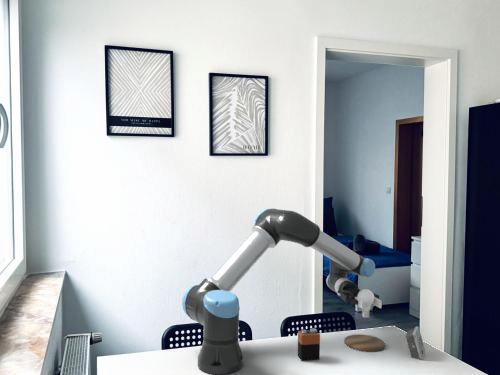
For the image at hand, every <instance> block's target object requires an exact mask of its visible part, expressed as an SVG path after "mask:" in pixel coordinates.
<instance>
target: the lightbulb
mask: <svg viewBox="0 0 500 375" xmlns="http://www.w3.org/2000/svg"><path fill="white" fill-rule="evenodd" d="M360 290H361V291H359V293H358V295H357V297H358V298H359V299H361V300H362V301H364V309H361V317H362V318H363V319H368V318H370V311H371V308H372V305H374V304H373V302H374V299H375V297H374V294H373V293H374V292H373V291H372V290H370V289H368V288H363V289H360Z"/></svg>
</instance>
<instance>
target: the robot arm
mask: <svg viewBox="0 0 500 375" xmlns="http://www.w3.org/2000/svg"><path fill="white" fill-rule="evenodd" d="M251 232H252V233H251V234H250V235H249V236H248V237H247V238H246V240H244V242H242V244H241V245H240V246H239V247H238V248H237V249H236V250H235V252H233V254H232V255H231V256H230V257H229V258H228V259H227V260H226V261H225V262H224V263H223V264H222V266H221V267H219V269H218V270H217V271H216V272H215V273H214V274H213V275H212V276H211V277H205V278H204V279H203V280H202V281H201V282H200V283H199V284H195V285H191V286H190V287H189V288H187V289H186V291H185V293H184V294H183V297H182V300H181V301H182V302H181V303H182V304H181V306H182V310H183V312H184V313H185V314H186V315H187V316H188V317H189V318H190V320H193V321H195V322H197V323H198V324H200V325H202V326H203V332H202V333H203V338H202V339H203V341H202V345H201V347H200V352H199V354H198V356H197V367H198V369H199V370H201V371H202V372H204V373H207V374H211V375H229V374H233V373H236V372H238V371H240V370H241V369H243V367H244V355H243V353H242V349H241V348H242V347H241V345H240V341H239V335H240V334H239V330H240V326H239V324H240V300H239V297H238V296H237V295H236V294H235V293H233V292H232V290H233V289H234V288H235V287H236V286H237V284H239V282H240V281H241V280H242V279H243V277H244V276H246V274H248V272H249V271H250V270H251V269H252V268H253V266H254V265H255V264H256V263H257V262H258V261H259V259H260V258H261V257H262V256H263V254H265V253H266V252H267V251H268V249H272V248H273V249H274V248H275V247H276V246H277V245H278V244H279V242H281V241H287V242H292V243H296V244H299V245H302V246H303V247H304V248H312V249H314V250H315V251H316V252H318V253H320V254H322V255H323V256H325V257H326V258H328V259H329V274H328V276H327V277H326V279H325V281H326V285H327V287H328V288H329V289H330V290H331V291H333V292H335V293H336V294H337V298H340V299H341V300H343V302H344V303H346V304H349V303H350V305H351V306H355V305H356V306H357V307H358V308H360V309H361V310H362V309H364V301H362V300H361V299H359V298H358V297H357V295H358V293H359V291H361V290H362V289H360V288H359V287H358V285H357V284H356V283H355V282H353V281H351V280H349V279H348V273H349V274H354V275H356V276H359V277H360V276H361V277H362V278H363V277H365V278H369V277H372V276H373V275H374V273H375V270H376V264H375V262H374V260H372V259H371V258H368V257H363V256H362V255H360V254H358V253H356V252H355V251H354V250H351V249H350V248H349V247H347V246H346V245H344V244H343V243H341V242H339V241H338V240H336V239H334V238H333V237H331V236H330V235H329V234H327V233H325V232H324V231H323V230H321V228H320V226H319V225H318V224H316V223H315V222H313V221H311V220H310V219H308V218H307V217H305V215H302V214H300V213H299V212H297V211H294V210H287V209H286V210H285V209H277V208H266V209H263V210H261V211H260V212H259V213H257V215H256V217H255V218H254V225H253V226H252V227H251ZM373 294H374V297H375V299H374V302H373V304H372V305H374V306H375V307H376V308H379V309H382V306H383V305H382V304H383V303H382V302H383V300H381V299H380V295H379V294H377V293H375V292H373Z"/></svg>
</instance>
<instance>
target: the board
mask: <svg viewBox="0 0 500 375" xmlns="http://www.w3.org/2000/svg"><path fill="white" fill-rule="evenodd" d="M345 344H346V345H347V346H346V345H345ZM344 345H345V346H346V347H348V346H349V347H348V348H350V349H352V348H353V350H355V349H356V350H355V351H358V350H359V351H360V352H364V351H365V352H367V353H377V351H378V352H381V351H384V350H385V349H386V342H385V341H384V340H383V339H382V338H379V337H376V336H373V335H368V334H359V333H358V334H351V335H348V336H347V335H346V336H345V337H344ZM359 351H358V352H359Z"/></svg>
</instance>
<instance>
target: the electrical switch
mask: <svg viewBox="0 0 500 375" xmlns="http://www.w3.org/2000/svg"><path fill="white" fill-rule="evenodd" d="M419 327H420V326H415V327H414V328H412V329H410V328H409V329H408V330H407V332H406V333H405V339H406V343H407V346H408V351H409V353H410V354H409V355H410V358H411V359H413V358H415V359H417V358H419V360H420V361H422V360H424V356H425V354H426V349H425V345H424V342H423V341H424V340H423V337H422V334H421V330H420V328H419Z"/></svg>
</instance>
